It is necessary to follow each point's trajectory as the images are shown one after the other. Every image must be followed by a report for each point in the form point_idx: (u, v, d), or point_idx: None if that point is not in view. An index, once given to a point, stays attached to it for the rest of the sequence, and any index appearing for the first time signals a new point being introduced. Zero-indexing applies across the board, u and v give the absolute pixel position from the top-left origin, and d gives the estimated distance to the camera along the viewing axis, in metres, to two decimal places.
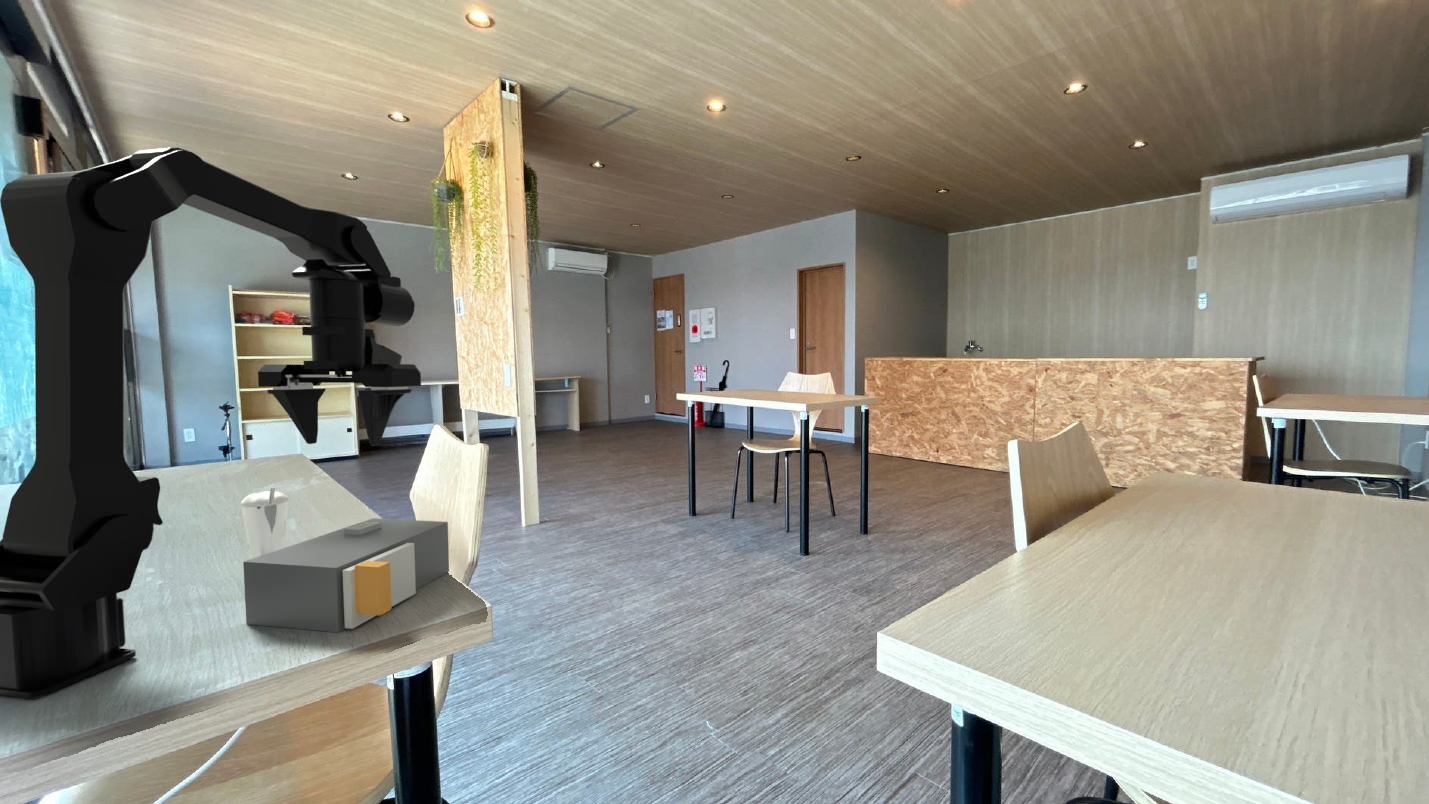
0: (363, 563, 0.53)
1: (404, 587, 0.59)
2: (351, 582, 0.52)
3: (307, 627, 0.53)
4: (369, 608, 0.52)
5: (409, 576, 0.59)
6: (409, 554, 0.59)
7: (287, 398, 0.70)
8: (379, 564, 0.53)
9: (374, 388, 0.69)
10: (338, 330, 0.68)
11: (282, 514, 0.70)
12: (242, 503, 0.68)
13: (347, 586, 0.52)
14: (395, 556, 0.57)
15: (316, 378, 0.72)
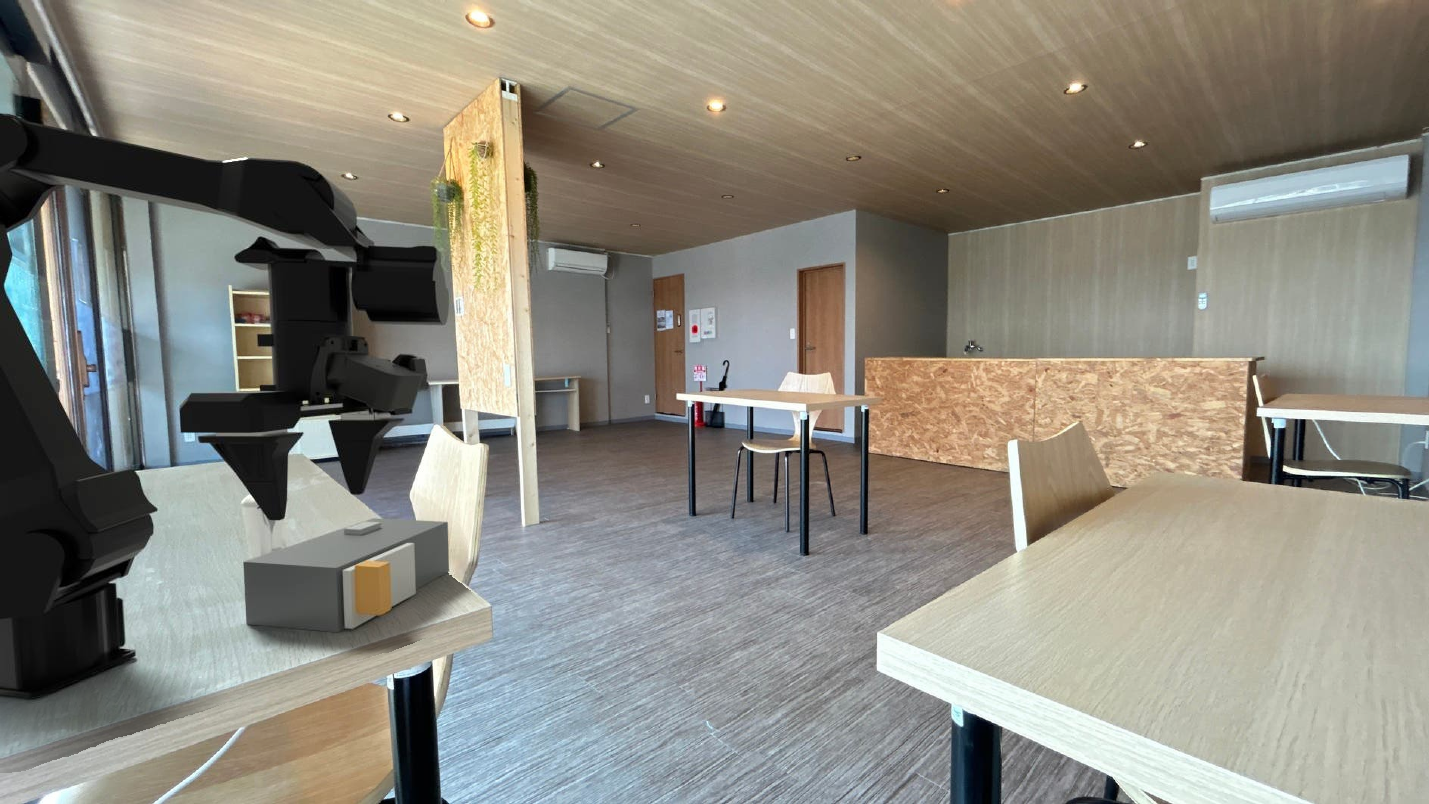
0: (363, 563, 0.53)
1: (404, 587, 0.59)
2: (351, 582, 0.52)
3: (307, 627, 0.53)
4: (369, 608, 0.52)
5: (409, 576, 0.59)
6: (409, 554, 0.59)
7: (331, 431, 0.54)
8: (379, 564, 0.53)
9: None
10: (260, 340, 0.46)
11: None
12: (242, 503, 0.68)
13: (347, 586, 0.52)
14: (395, 556, 0.57)
15: None
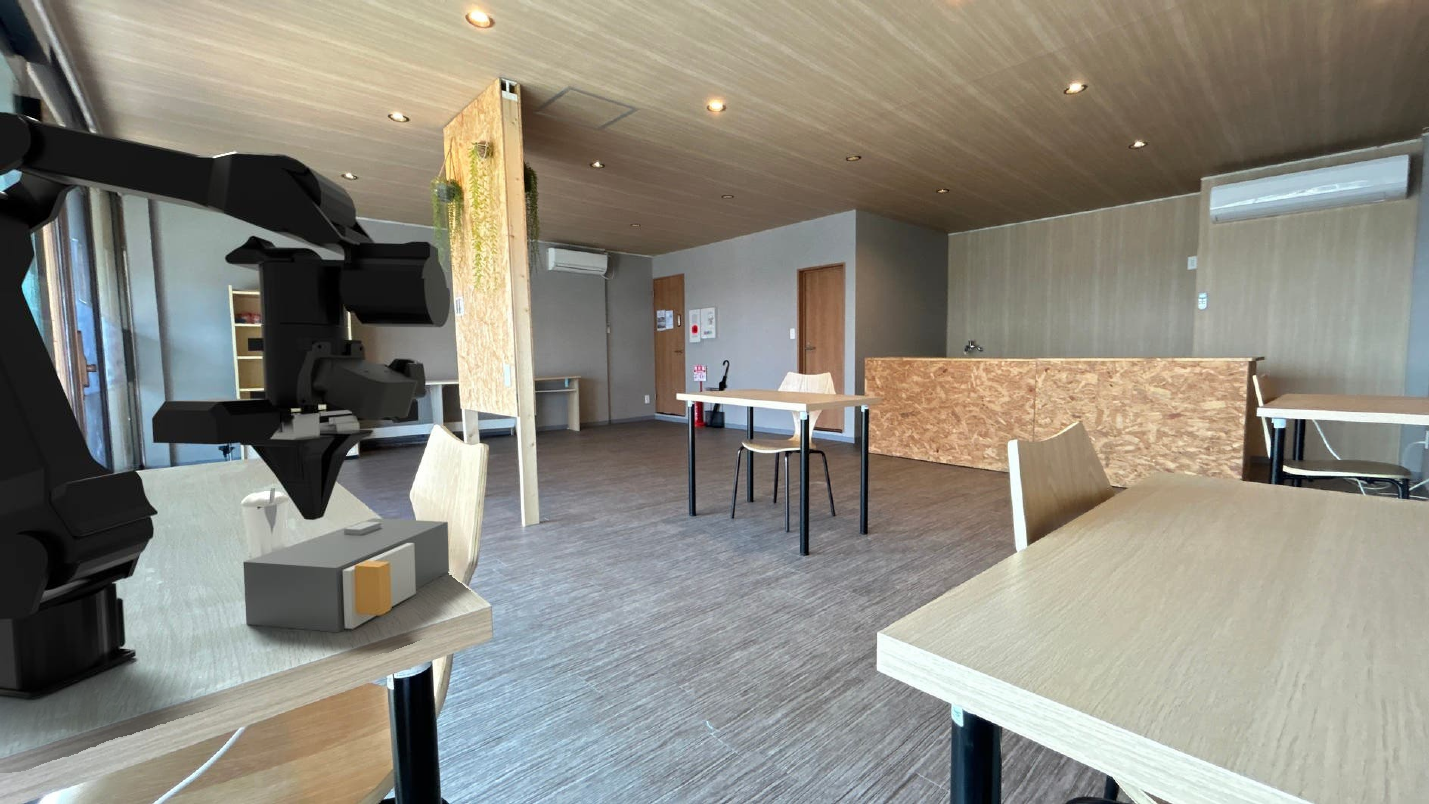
0: (363, 563, 0.53)
1: (404, 587, 0.59)
2: (351, 582, 0.52)
3: (307, 627, 0.53)
4: (369, 608, 0.52)
5: (409, 576, 0.59)
6: (409, 554, 0.59)
7: None
8: (379, 564, 0.53)
9: None
10: (250, 344, 0.44)
11: (282, 514, 0.70)
12: (242, 503, 0.68)
13: (347, 586, 0.52)
14: (395, 556, 0.57)
15: None
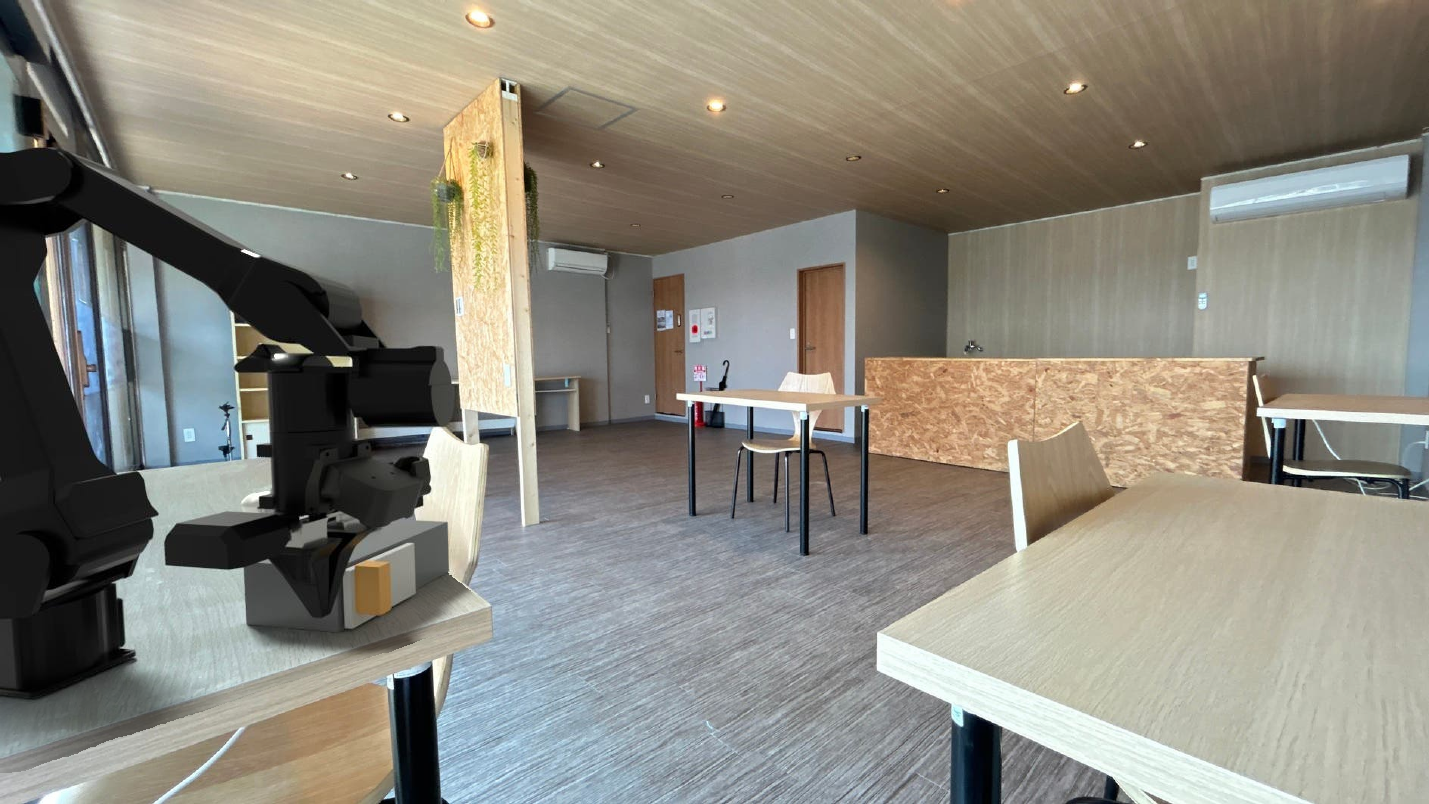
0: (363, 563, 0.53)
1: (404, 587, 0.59)
2: (351, 582, 0.52)
3: (307, 627, 0.53)
4: (369, 608, 0.52)
5: (409, 576, 0.59)
6: (409, 554, 0.59)
7: None
8: (379, 564, 0.53)
9: None
10: (259, 450, 0.45)
11: None
12: (242, 503, 0.68)
13: (347, 586, 0.52)
14: (395, 556, 0.57)
15: None
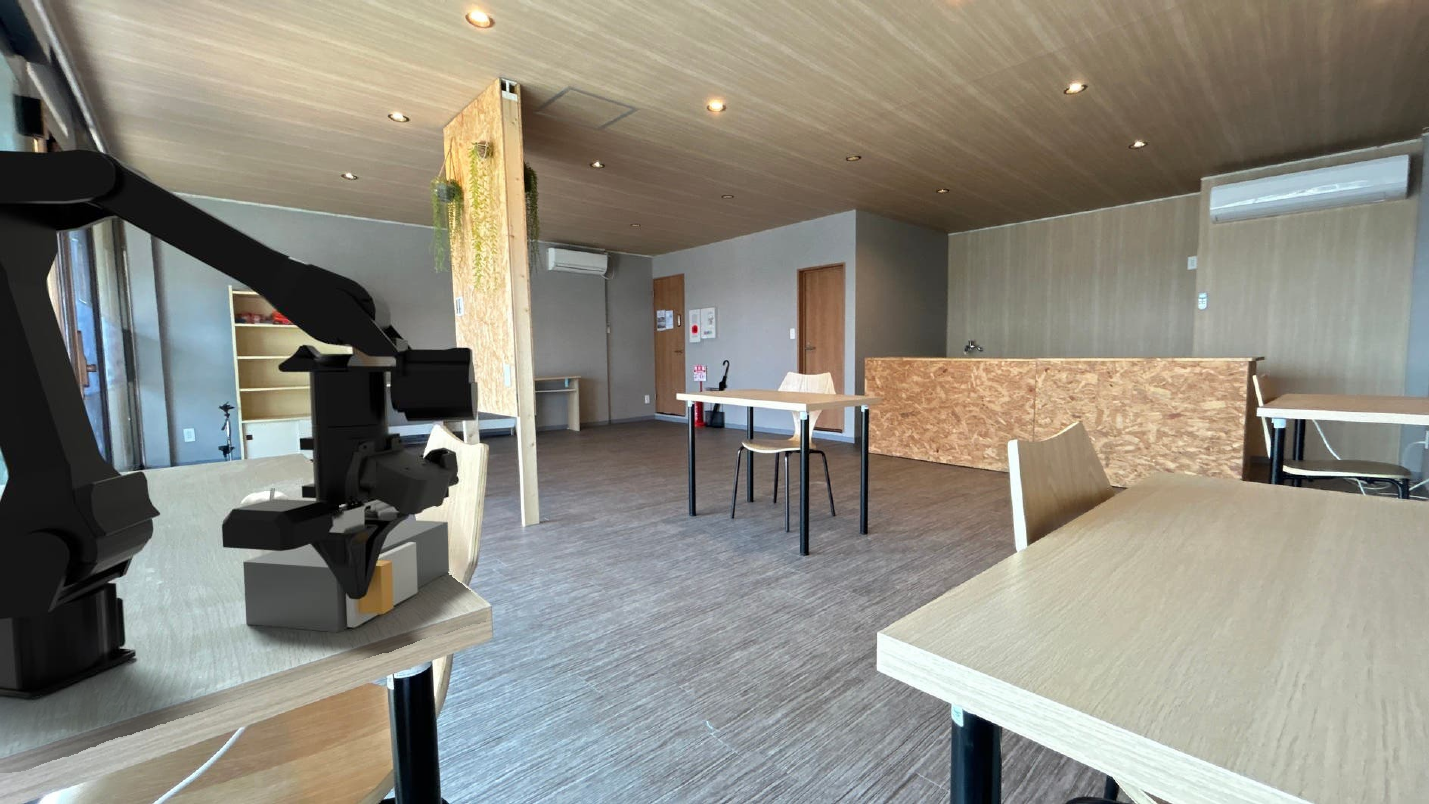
0: None
1: (406, 586, 0.59)
2: None
3: (307, 627, 0.53)
4: (371, 607, 0.52)
5: (411, 575, 0.60)
6: (411, 554, 0.60)
7: None
8: (381, 563, 0.53)
9: None
10: (302, 443, 0.48)
11: None
12: (242, 503, 0.68)
13: None
14: (397, 555, 0.58)
15: None
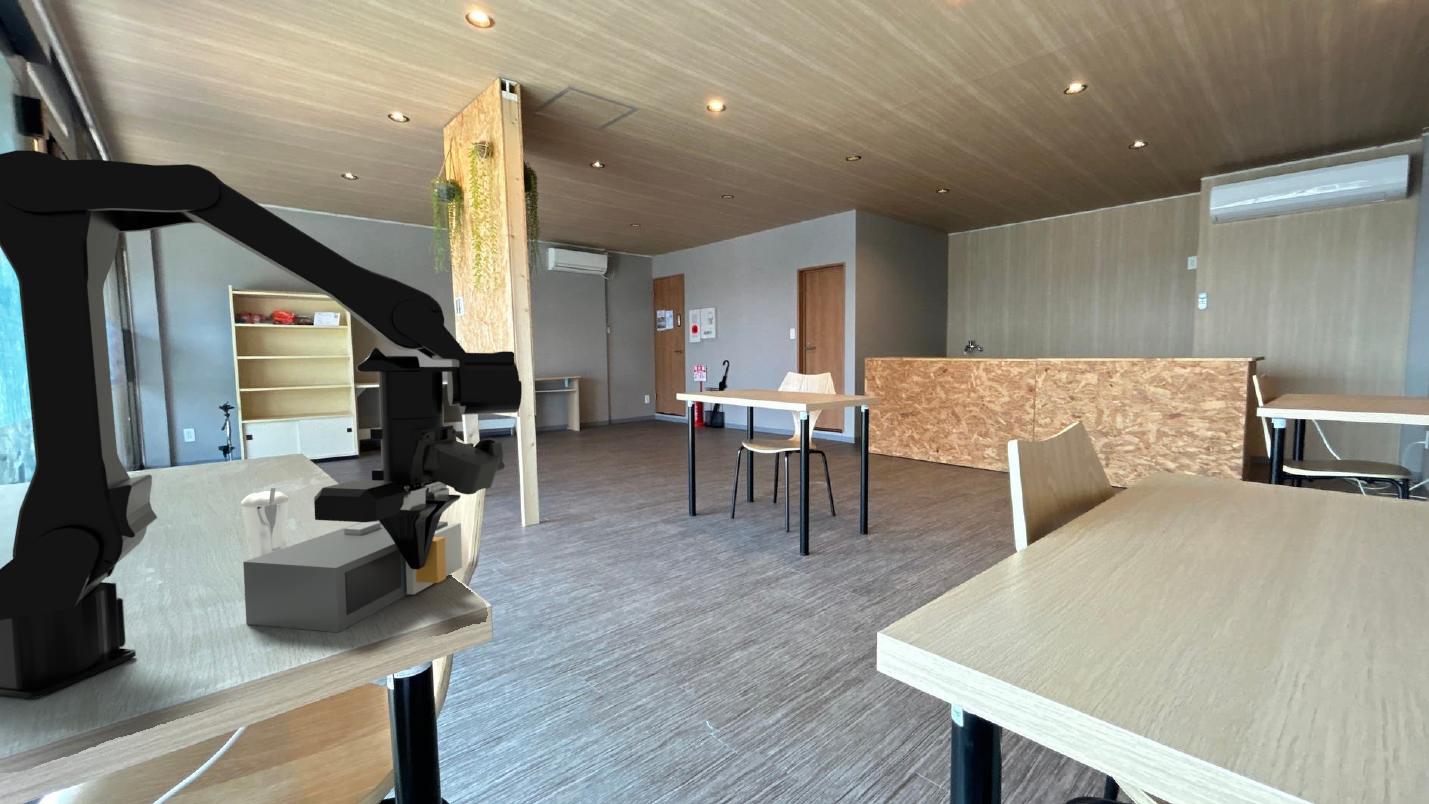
0: None
1: (453, 561, 0.67)
2: None
3: (307, 627, 0.53)
4: (428, 577, 0.60)
5: (457, 552, 0.67)
6: (456, 533, 0.67)
7: None
8: (436, 538, 0.61)
9: None
10: (372, 433, 0.56)
11: (282, 514, 0.70)
12: (242, 503, 0.68)
13: None
14: (446, 533, 0.65)
15: None
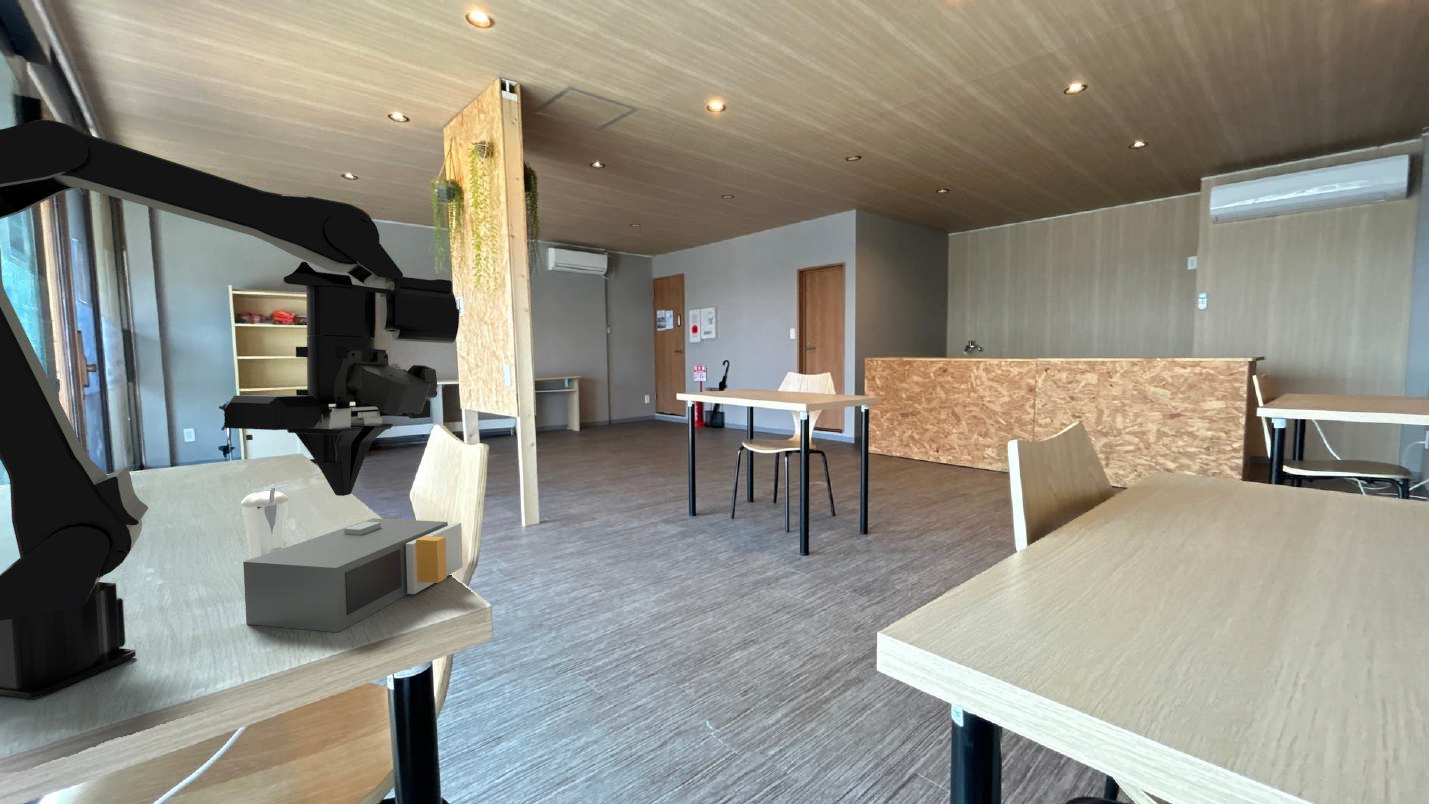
0: (422, 537, 0.61)
1: (453, 561, 0.67)
2: (413, 553, 0.60)
3: (307, 627, 0.53)
4: (428, 576, 0.60)
5: (457, 552, 0.67)
6: (457, 532, 0.67)
7: None
8: (436, 538, 0.61)
9: None
10: (297, 351, 0.54)
11: (282, 514, 0.70)
12: (242, 503, 0.68)
13: (410, 557, 0.60)
14: (446, 533, 0.65)
15: None
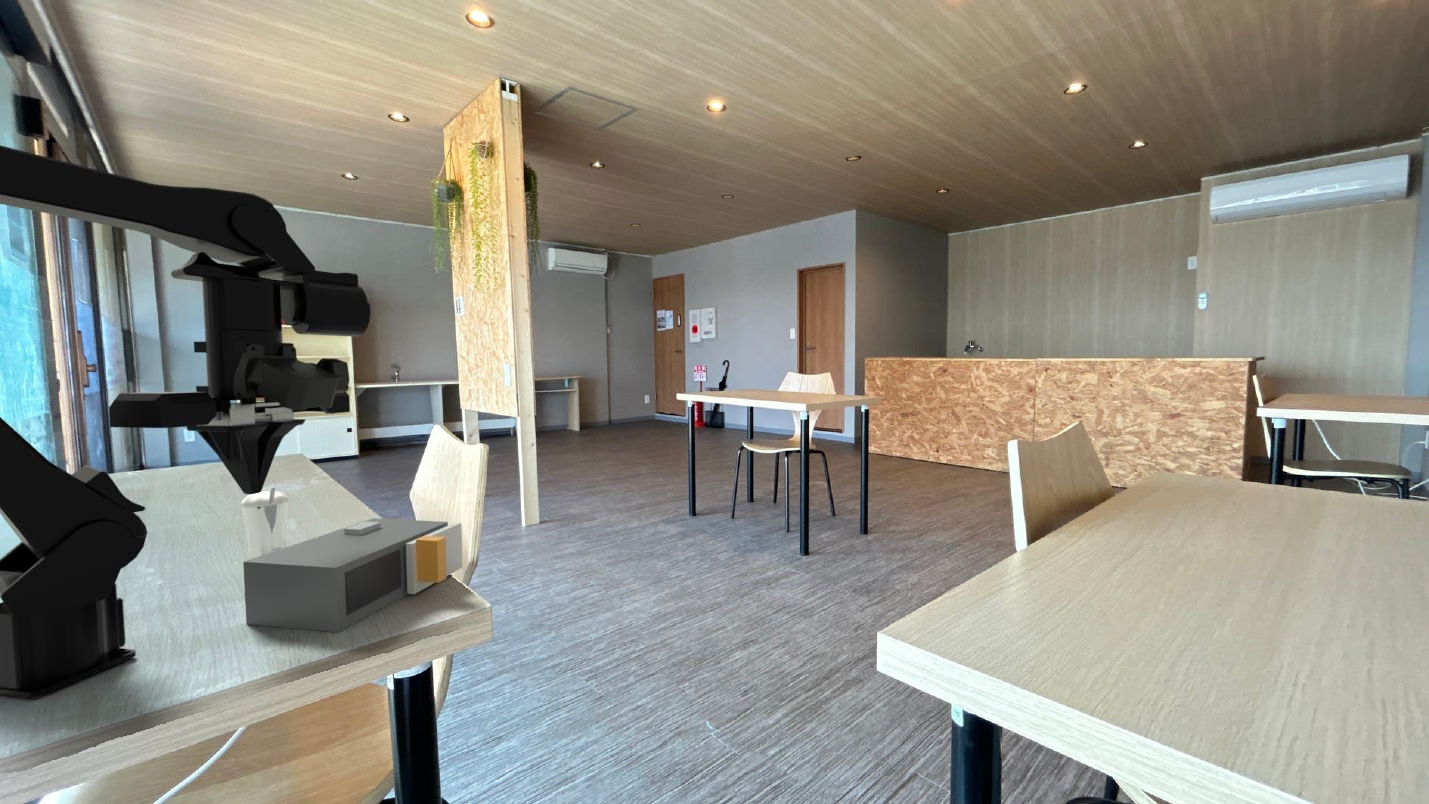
0: (422, 537, 0.61)
1: (453, 561, 0.67)
2: (413, 553, 0.60)
3: (307, 627, 0.53)
4: (428, 576, 0.60)
5: (457, 552, 0.67)
6: (457, 532, 0.67)
7: None
8: (436, 538, 0.61)
9: None
10: (196, 346, 0.53)
11: (282, 514, 0.70)
12: (242, 503, 0.68)
13: (410, 557, 0.60)
14: (446, 533, 0.65)
15: None
